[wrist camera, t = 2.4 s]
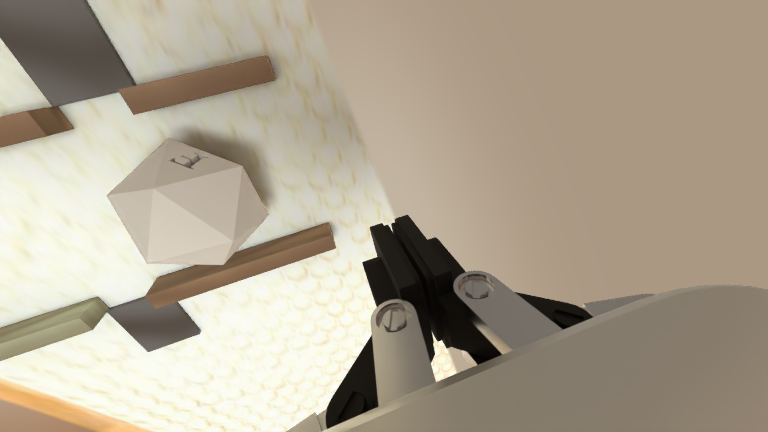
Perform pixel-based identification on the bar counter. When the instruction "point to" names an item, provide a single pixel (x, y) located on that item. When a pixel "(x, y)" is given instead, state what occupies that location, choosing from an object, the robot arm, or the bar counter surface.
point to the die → (187, 206)
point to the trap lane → (108, 75)
